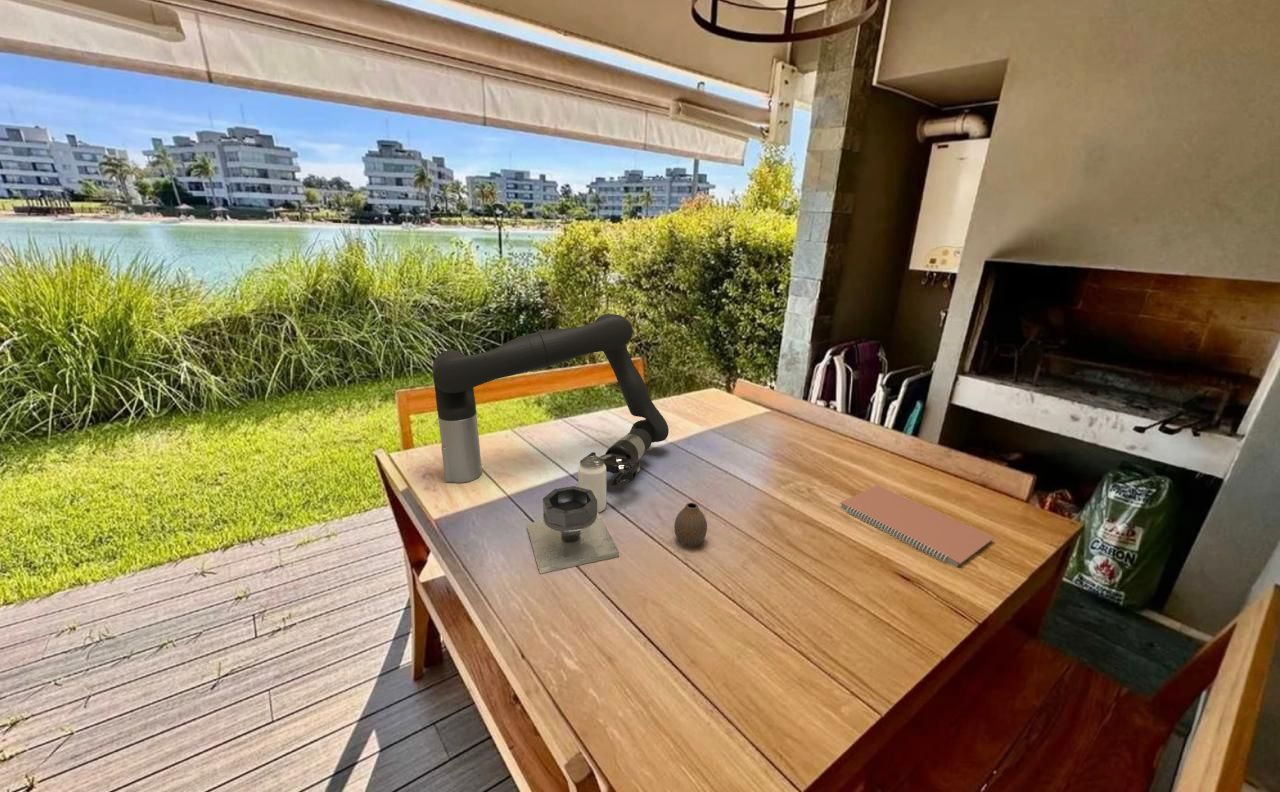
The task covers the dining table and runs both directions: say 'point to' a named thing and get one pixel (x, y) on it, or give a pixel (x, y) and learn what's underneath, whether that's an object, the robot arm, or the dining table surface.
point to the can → (594, 479)
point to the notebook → (917, 525)
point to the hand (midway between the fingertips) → (596, 479)
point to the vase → (690, 525)
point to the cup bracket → (570, 531)
